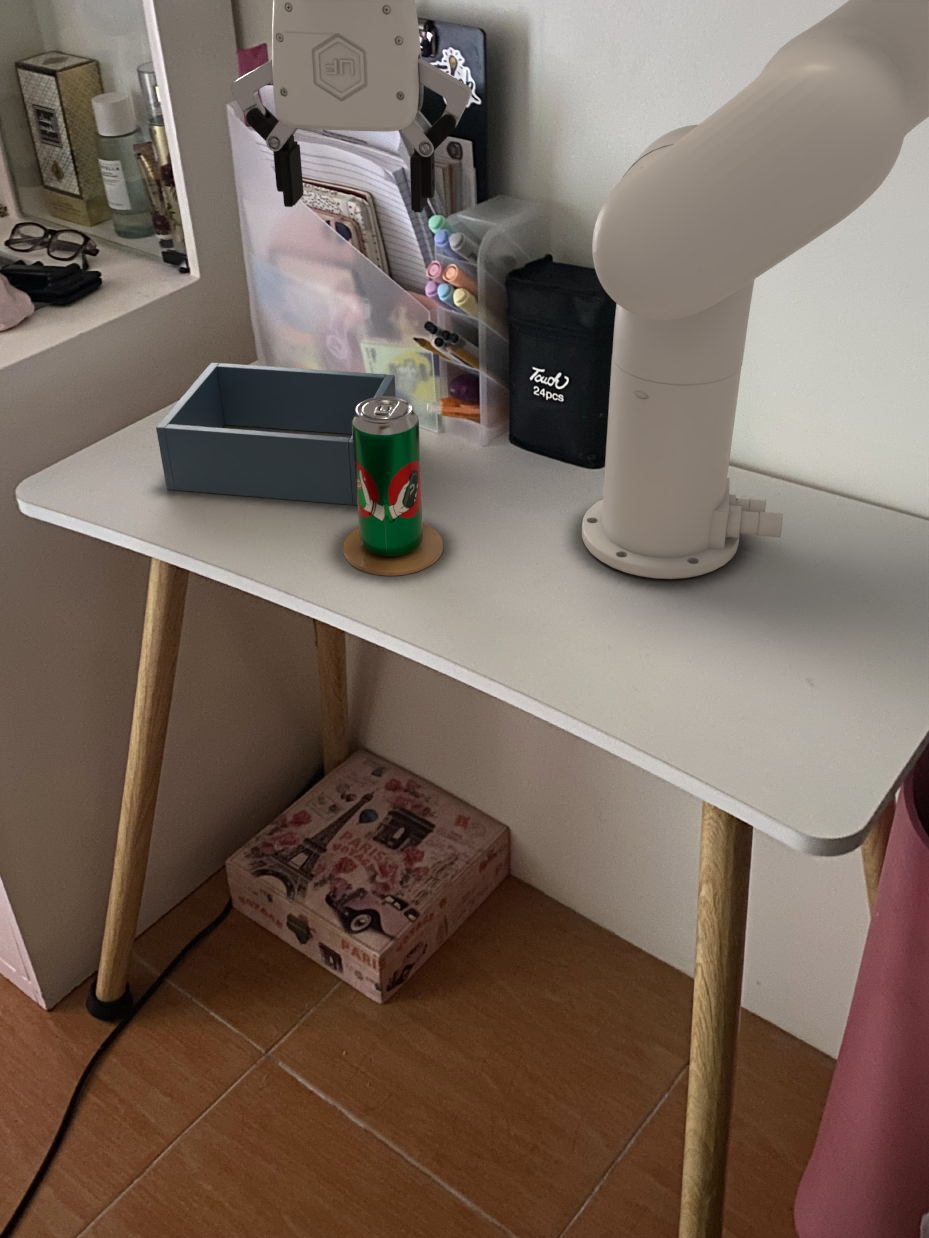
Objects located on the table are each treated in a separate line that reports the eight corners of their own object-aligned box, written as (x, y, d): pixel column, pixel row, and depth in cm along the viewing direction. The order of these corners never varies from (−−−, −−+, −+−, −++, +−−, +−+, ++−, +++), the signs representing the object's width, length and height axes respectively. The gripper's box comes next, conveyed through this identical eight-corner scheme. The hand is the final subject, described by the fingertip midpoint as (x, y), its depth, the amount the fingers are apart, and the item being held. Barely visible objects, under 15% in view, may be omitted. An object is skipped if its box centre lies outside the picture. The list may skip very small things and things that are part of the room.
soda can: (426, 529, 100) (422, 394, 93) (418, 563, 96) (413, 424, 89) (365, 526, 100) (356, 392, 94) (355, 560, 96) (345, 422, 89)
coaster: (451, 527, 101) (451, 523, 101) (431, 580, 95) (431, 576, 94) (357, 519, 102) (357, 515, 102) (332, 570, 96) (331, 566, 96)
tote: (397, 433, 115) (394, 374, 111) (361, 506, 104) (357, 442, 101) (219, 420, 118) (211, 362, 114) (166, 489, 107) (155, 427, 103)
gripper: (200, -49, 80) (230, 215, 90) (462, -44, 78) (463, 225, 88) (234, -64, 86) (258, 185, 96) (478, -60, 84) (477, 194, 94)
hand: (356, 204), depth 92 cm, fingers open, 9 cm apart
